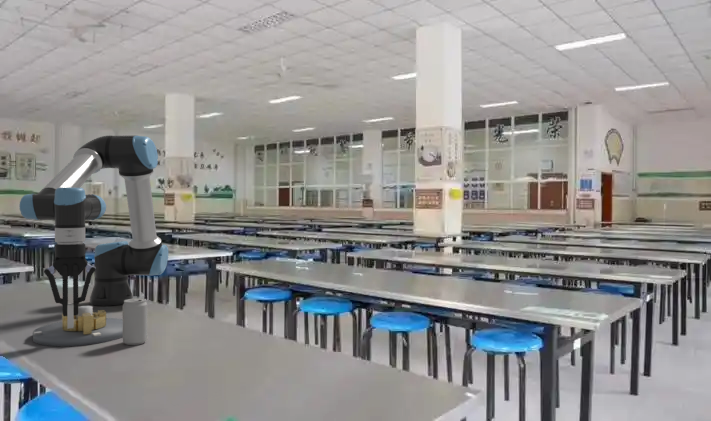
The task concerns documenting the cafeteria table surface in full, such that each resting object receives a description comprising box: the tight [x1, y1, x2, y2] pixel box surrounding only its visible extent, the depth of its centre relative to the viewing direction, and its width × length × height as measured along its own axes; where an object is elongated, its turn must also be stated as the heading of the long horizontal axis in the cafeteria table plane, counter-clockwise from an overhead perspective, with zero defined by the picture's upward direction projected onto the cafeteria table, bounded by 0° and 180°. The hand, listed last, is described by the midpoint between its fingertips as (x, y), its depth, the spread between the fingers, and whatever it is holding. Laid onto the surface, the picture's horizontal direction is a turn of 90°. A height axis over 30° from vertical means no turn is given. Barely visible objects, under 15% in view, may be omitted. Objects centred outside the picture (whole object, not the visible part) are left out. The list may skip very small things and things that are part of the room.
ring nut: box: [61, 309, 107, 335], centre depth 157 cm, size 16×11×5 cm
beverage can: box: [122, 298, 148, 346], centre depth 150 cm, size 6×6×12 cm
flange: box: [32, 305, 123, 347], centre depth 159 cm, size 26×26×8 cm
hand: (70, 327), depth 151 cm, fingers closed
